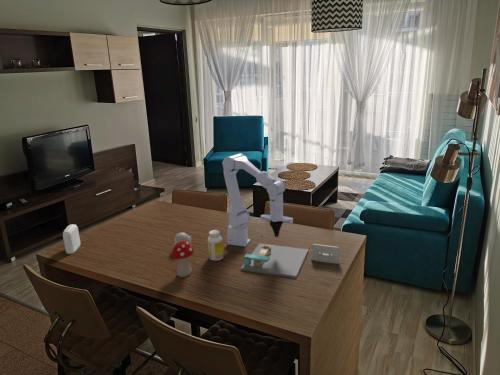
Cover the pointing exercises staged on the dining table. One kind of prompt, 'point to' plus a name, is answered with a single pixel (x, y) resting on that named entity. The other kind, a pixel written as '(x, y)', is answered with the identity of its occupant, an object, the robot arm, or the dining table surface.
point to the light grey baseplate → (279, 261)
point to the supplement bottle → (215, 245)
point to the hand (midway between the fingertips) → (276, 235)
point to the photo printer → (71, 238)
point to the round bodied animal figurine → (182, 238)
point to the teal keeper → (254, 258)
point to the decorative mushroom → (183, 257)
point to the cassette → (325, 257)
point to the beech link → (264, 252)
